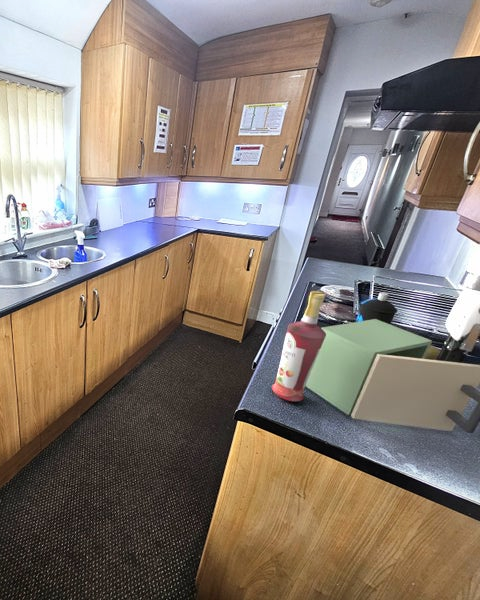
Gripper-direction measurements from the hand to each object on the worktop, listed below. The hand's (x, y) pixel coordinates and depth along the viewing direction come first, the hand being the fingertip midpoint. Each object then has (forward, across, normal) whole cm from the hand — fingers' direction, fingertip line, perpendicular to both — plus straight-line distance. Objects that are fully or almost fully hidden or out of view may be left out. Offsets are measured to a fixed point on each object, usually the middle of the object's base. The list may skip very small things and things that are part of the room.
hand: (446, 365), depth 69 cm
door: (+15, -7, +2) cm, 16 cm away
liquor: (+15, -10, +25) cm, 31 cm away
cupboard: (+15, +3, +12) cm, 19 cm away
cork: (+15, +20, -1) cm, 25 cm away
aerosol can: (+15, +30, +10) cm, 35 cm away
